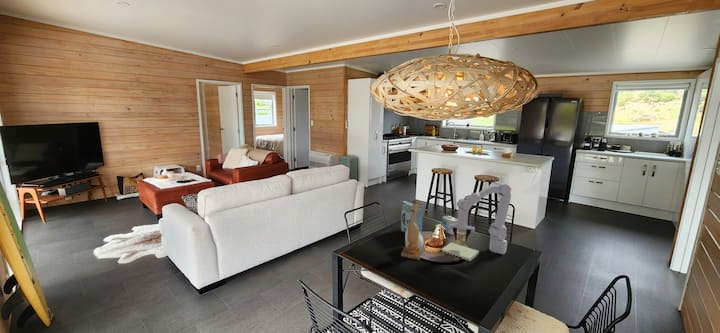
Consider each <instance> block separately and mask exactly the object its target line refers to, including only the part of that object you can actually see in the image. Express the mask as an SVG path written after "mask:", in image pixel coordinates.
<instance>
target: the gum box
mask: <svg viewBox="0 0 720 333" xmlns="http://www.w3.org/2000/svg"><path fill="white" fill-rule="evenodd" d="M413 205H415V203H413V202H410V201H408V200H403V201H401V220H400V230H401V232H403V233H406V230H407V228H408V227H409V221H410V219H411V216H412V214H413V212H414V211H409V209H410V207H411V206H413ZM423 210H424V207H421V206H420V209H419V211H418V213H417V215H416V218H415V223H416V224H417V226H418V228H419V232H420V233H421V235H422V234H423V213H424V211H423ZM422 236H423V235H422Z"/></svg>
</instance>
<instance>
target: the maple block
mask: <svg viewBox="0 0 720 333" xmlns="http://www.w3.org/2000/svg"><path fill="white" fill-rule="evenodd" d="M465 239H466V232H463V231H462V232H461V231H458V232H457V240H455V241H456V243H455V244H457V245H461V246H466V242H465Z"/></svg>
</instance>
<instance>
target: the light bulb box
mask: <svg viewBox="0 0 720 333" xmlns="http://www.w3.org/2000/svg"><path fill="white" fill-rule="evenodd" d="M457 220H458V218H457V217H453V216H452V215H445V216H442V218H441V227H442V226H443V227H444V228H445V229H446V231H445V233H447V234H449V235H453V236H454V232H453V228H449V224H457ZM459 230H460V229H457V232H459Z"/></svg>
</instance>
